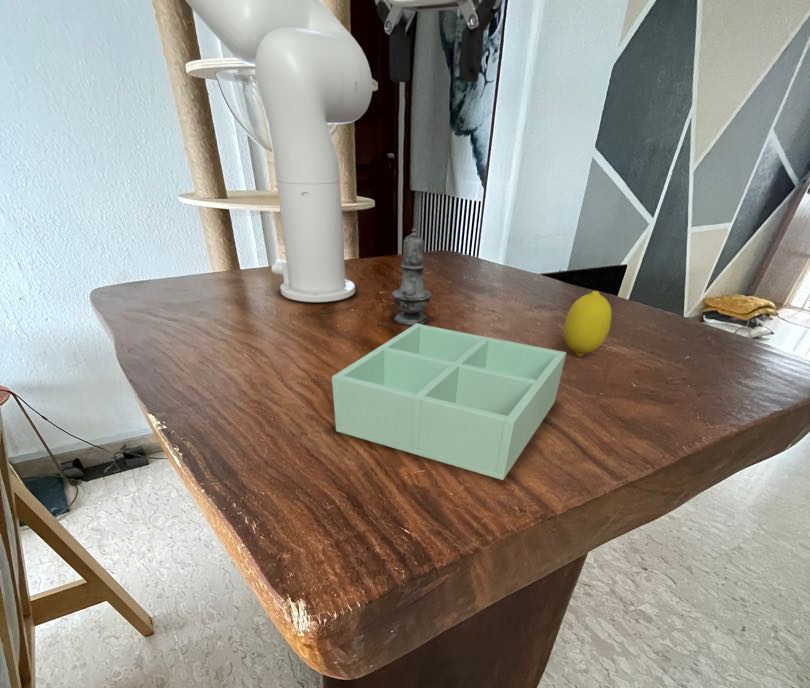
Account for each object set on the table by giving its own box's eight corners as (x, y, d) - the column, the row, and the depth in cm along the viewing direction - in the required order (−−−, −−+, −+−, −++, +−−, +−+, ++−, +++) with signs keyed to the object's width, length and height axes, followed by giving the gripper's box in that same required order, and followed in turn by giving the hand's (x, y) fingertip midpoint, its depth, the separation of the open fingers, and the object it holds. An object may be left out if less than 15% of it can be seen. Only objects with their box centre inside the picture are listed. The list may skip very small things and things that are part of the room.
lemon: (594, 368, 62) (613, 300, 57) (551, 358, 64) (566, 292, 59) (605, 354, 66) (624, 289, 60) (565, 345, 68) (580, 282, 62)
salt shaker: (427, 326, 72) (431, 232, 64) (388, 323, 73) (388, 229, 65) (433, 314, 77) (438, 224, 69) (396, 311, 78) (397, 222, 70)
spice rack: (335, 431, 49) (331, 376, 45) (414, 370, 60) (416, 323, 57) (503, 480, 43) (513, 422, 39) (554, 402, 54) (566, 352, 51)
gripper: (347, -160, 48) (356, 80, 59) (507, -205, 40) (481, 79, 52) (394, -135, 52) (393, 83, 64) (544, -172, 45) (513, 83, 56)
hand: (432, 81), depth 58 cm, fingers open, 9 cm apart
